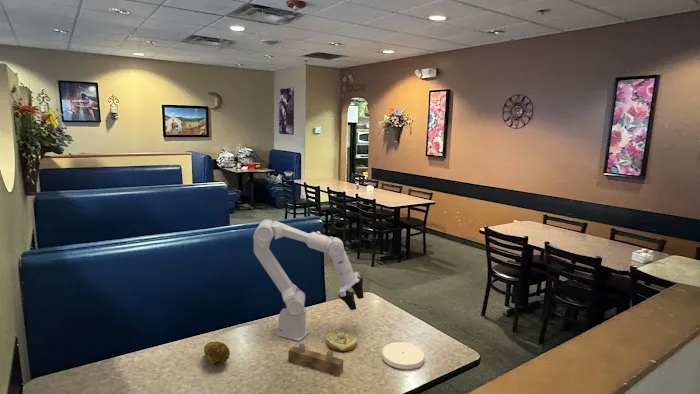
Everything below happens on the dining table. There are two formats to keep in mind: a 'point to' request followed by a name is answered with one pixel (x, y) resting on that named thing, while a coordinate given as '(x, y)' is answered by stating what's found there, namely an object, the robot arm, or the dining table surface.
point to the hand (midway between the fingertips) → (357, 303)
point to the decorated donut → (341, 340)
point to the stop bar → (315, 360)
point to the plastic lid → (403, 355)
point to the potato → (216, 352)
